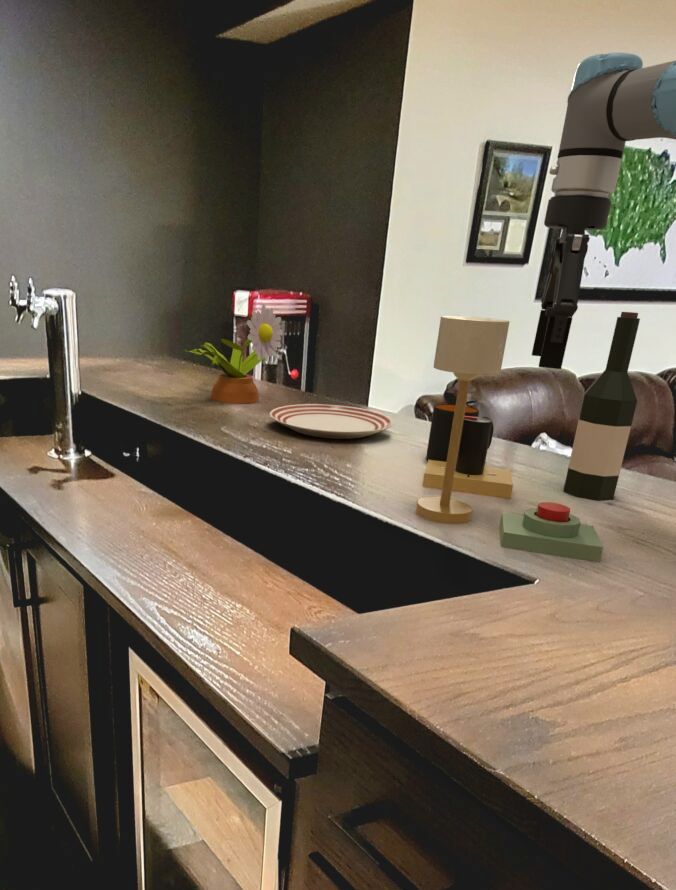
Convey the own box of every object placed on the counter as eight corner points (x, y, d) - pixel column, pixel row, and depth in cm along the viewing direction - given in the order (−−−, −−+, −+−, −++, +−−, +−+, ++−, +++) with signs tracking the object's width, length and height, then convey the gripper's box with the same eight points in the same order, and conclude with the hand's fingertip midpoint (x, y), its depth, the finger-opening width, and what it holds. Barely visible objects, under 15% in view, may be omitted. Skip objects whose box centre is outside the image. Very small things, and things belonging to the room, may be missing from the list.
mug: (495, 468, 136) (505, 414, 133) (433, 465, 136) (442, 411, 132) (479, 457, 144) (488, 406, 141) (420, 454, 144) (428, 403, 140)
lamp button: (566, 516, 99) (568, 504, 98) (569, 525, 95) (572, 513, 94) (534, 512, 100) (537, 500, 99) (536, 521, 96) (539, 508, 96)
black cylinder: (483, 469, 125) (492, 416, 122) (483, 476, 120) (493, 421, 117) (454, 466, 126) (463, 413, 123) (453, 472, 122) (462, 418, 119)
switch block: (589, 540, 101) (596, 513, 100) (599, 563, 93) (606, 534, 91) (499, 526, 104) (504, 500, 103) (500, 547, 96) (506, 519, 95)
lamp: (474, 511, 111) (508, 319, 101) (473, 529, 103) (510, 322, 93) (414, 502, 113) (442, 314, 104) (409, 519, 105) (439, 317, 96)
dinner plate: (365, 451, 144) (367, 434, 143) (246, 429, 157) (247, 414, 156) (408, 430, 166) (410, 415, 165) (301, 412, 179) (302, 399, 178)
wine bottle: (553, 490, 124) (592, 310, 114) (574, 483, 129) (613, 310, 120) (603, 503, 118) (648, 314, 108) (622, 495, 124) (667, 314, 114)
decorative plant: (233, 410, 177) (240, 304, 169) (167, 394, 192) (169, 297, 184) (300, 400, 196) (309, 304, 188) (234, 387, 211) (240, 298, 203)
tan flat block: (508, 483, 127) (511, 469, 126) (510, 499, 118) (513, 483, 117) (426, 472, 131) (428, 458, 130) (422, 487, 122) (424, 472, 121)
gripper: (542, 202, 106) (512, 349, 113) (559, 185, 83) (521, 370, 90) (597, 204, 103) (564, 354, 111) (631, 187, 81) (586, 376, 88)
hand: (545, 362), depth 101 cm, fingers open, 13 cm apart
